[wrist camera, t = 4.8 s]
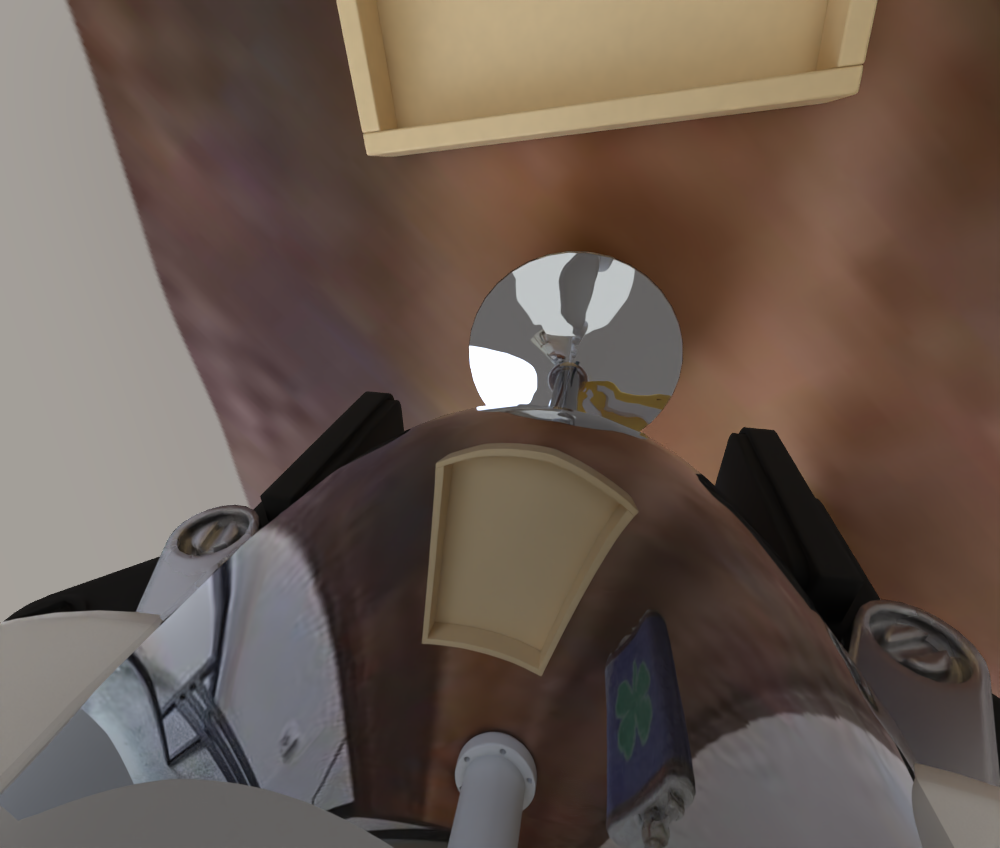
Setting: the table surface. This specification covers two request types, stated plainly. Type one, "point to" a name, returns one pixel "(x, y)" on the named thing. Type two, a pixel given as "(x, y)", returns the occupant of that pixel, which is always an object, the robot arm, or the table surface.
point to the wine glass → (492, 641)
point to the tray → (588, 64)
